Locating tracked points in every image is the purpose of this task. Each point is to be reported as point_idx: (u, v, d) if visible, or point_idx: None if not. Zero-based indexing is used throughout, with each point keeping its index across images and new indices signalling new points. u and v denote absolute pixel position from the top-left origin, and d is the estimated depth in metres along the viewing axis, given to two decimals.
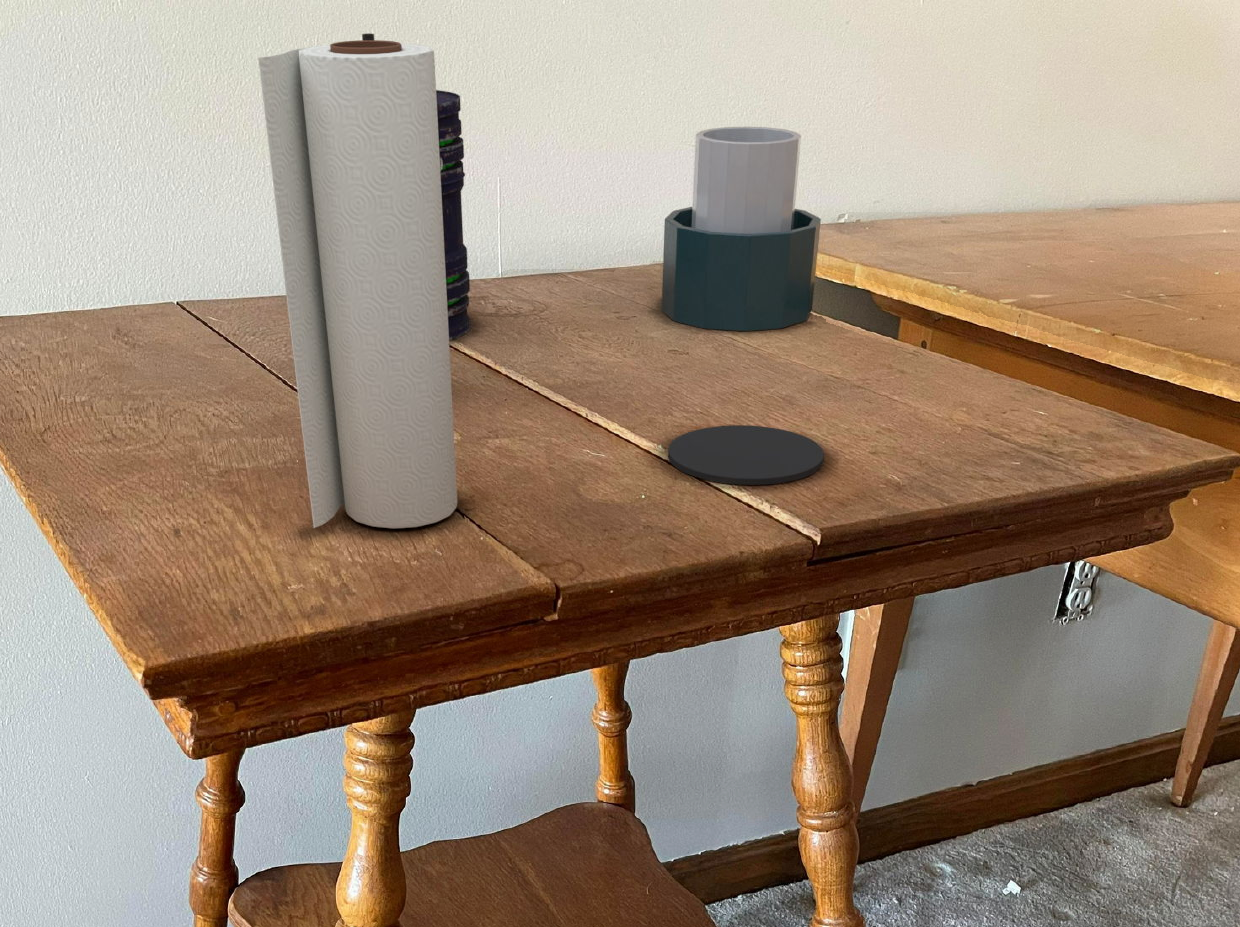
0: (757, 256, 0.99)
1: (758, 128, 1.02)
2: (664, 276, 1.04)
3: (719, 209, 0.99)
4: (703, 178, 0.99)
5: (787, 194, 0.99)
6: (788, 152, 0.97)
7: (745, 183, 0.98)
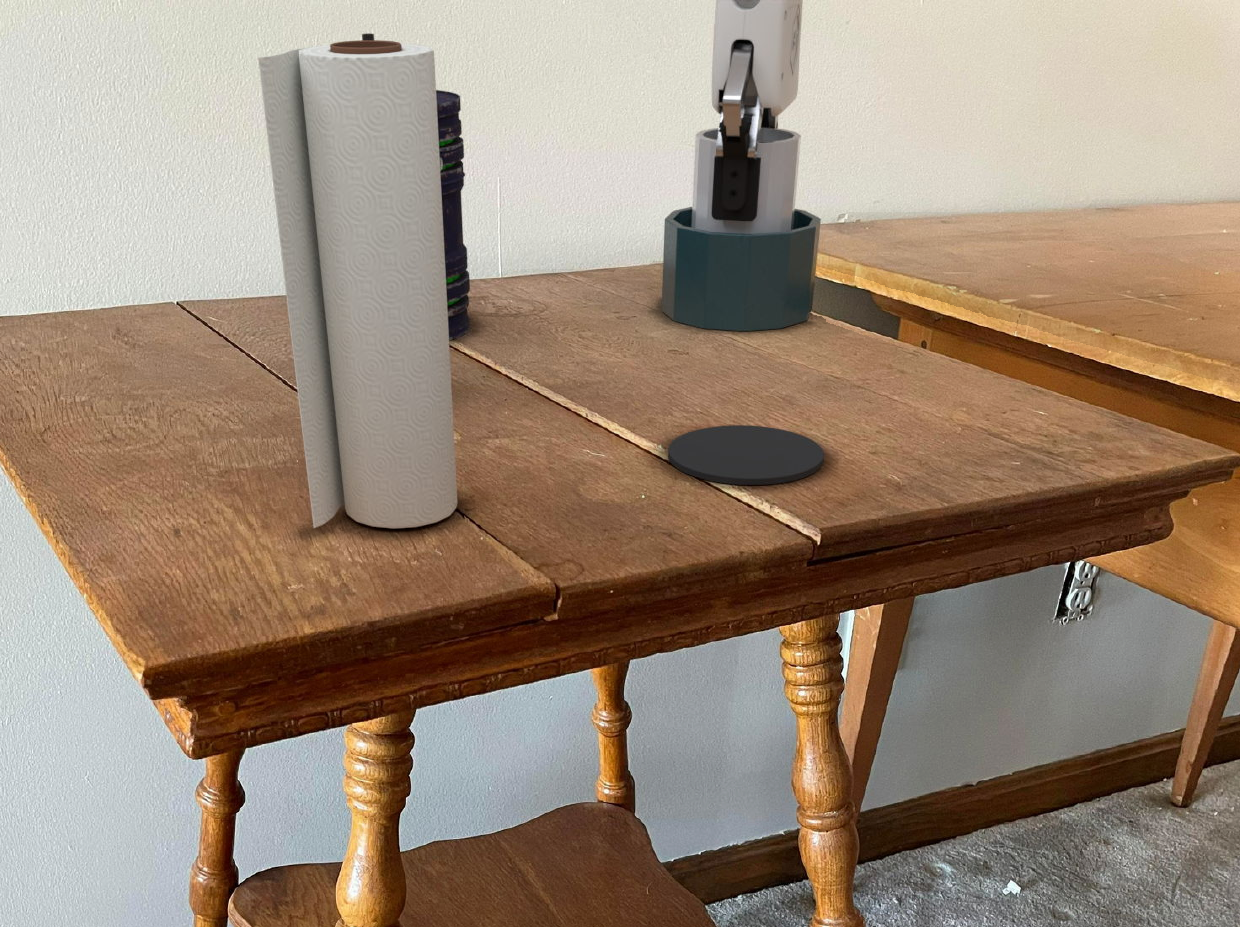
0: (757, 256, 0.99)
1: None
2: (664, 276, 1.04)
3: None
4: (703, 178, 0.99)
5: (787, 194, 0.99)
6: (788, 152, 0.97)
7: None
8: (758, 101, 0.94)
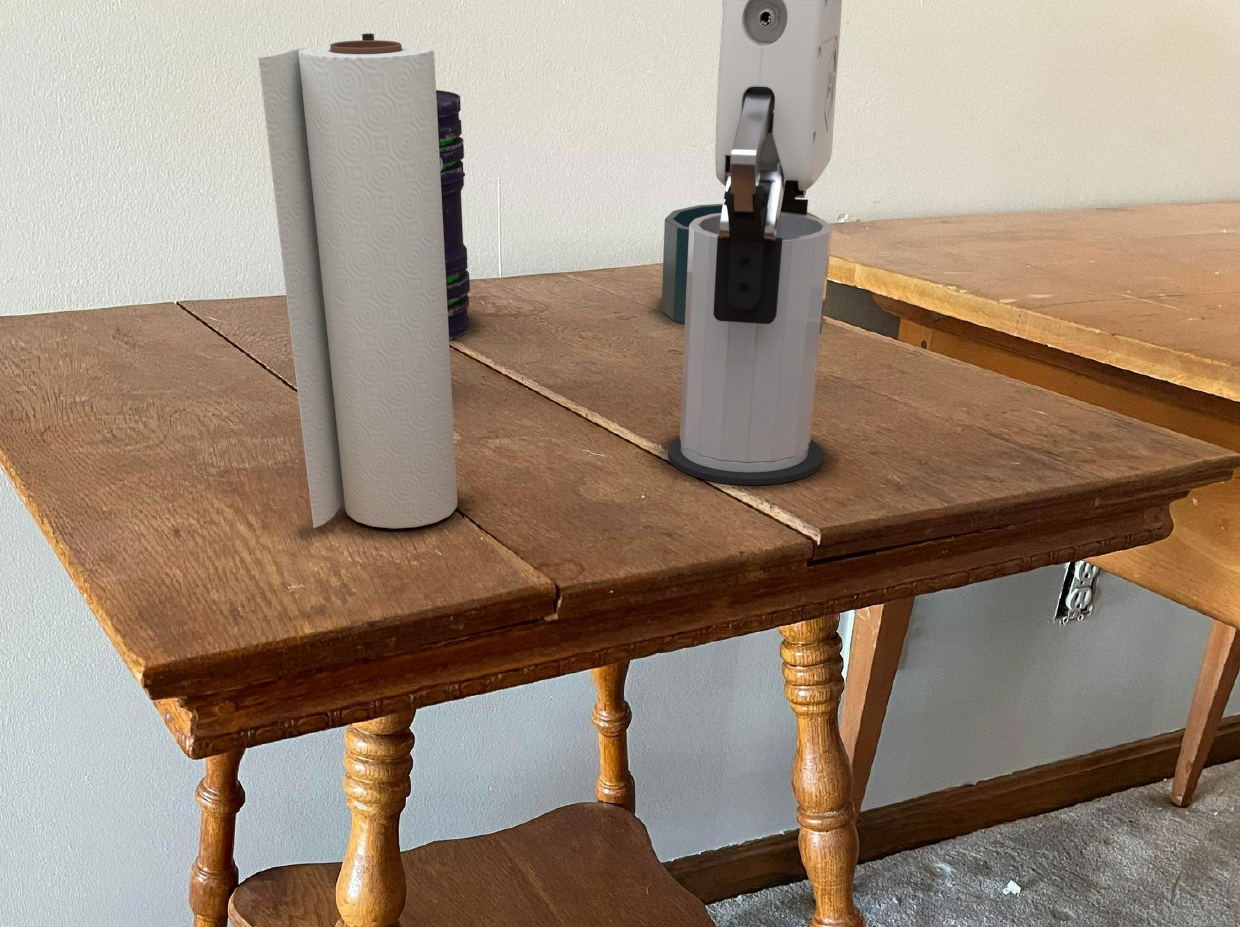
0: None
1: None
2: (664, 276, 1.04)
3: (721, 326, 0.73)
4: (699, 284, 0.73)
5: (813, 305, 0.73)
6: (815, 251, 0.71)
7: None
8: (780, 163, 0.67)
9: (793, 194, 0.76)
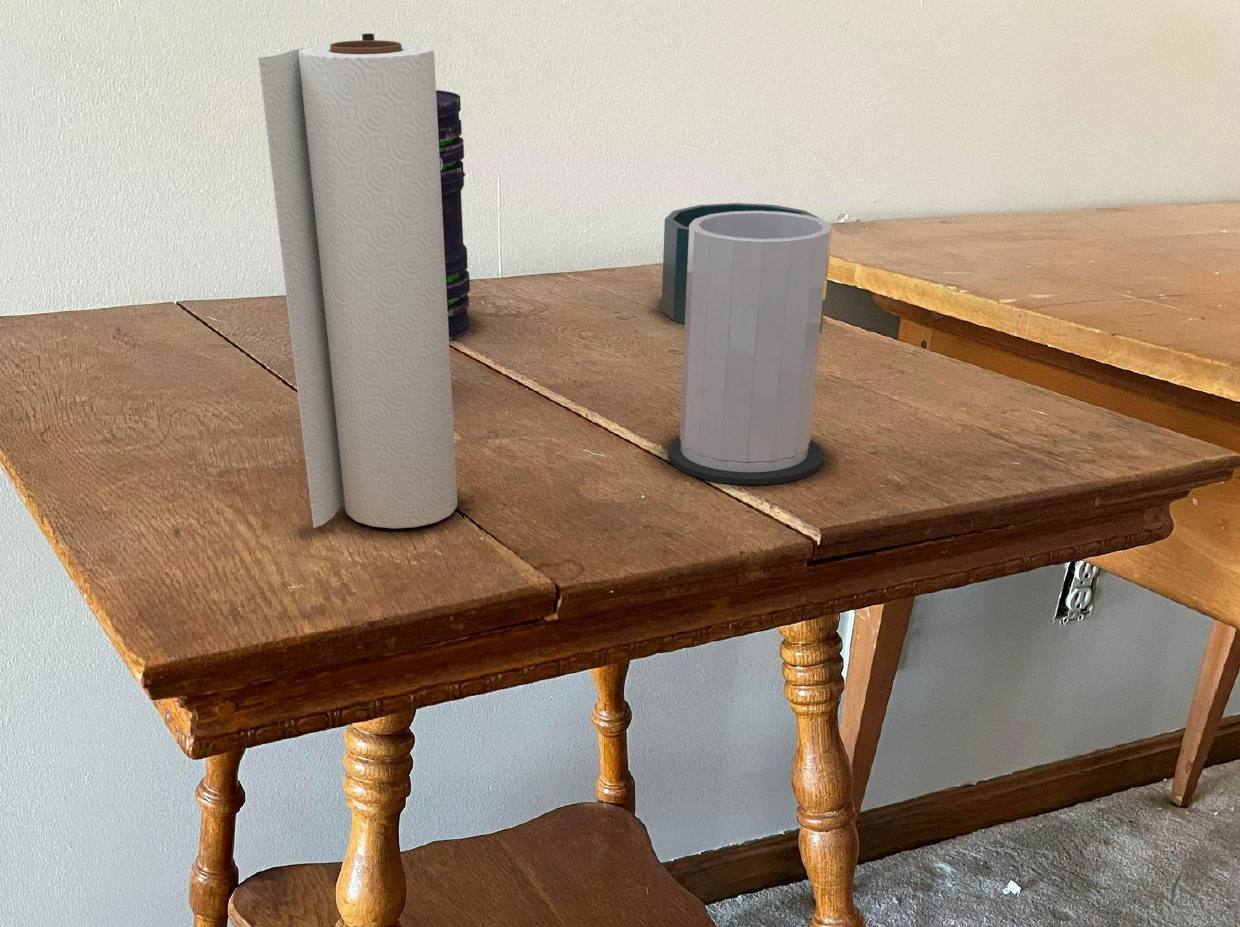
0: None
1: (773, 213, 0.75)
2: (664, 276, 1.04)
3: (721, 326, 0.73)
4: (699, 284, 0.73)
5: (813, 305, 0.73)
6: (815, 251, 0.71)
7: (757, 293, 0.72)
8: None
9: None
